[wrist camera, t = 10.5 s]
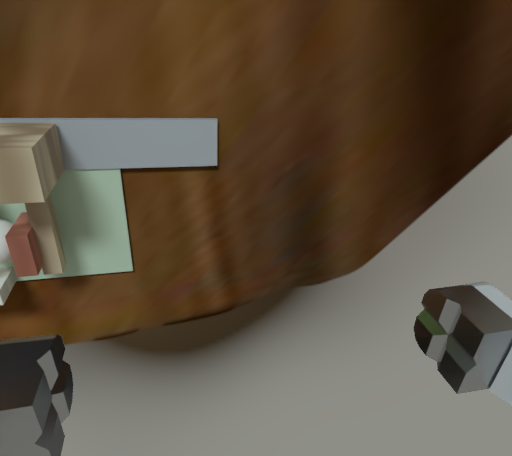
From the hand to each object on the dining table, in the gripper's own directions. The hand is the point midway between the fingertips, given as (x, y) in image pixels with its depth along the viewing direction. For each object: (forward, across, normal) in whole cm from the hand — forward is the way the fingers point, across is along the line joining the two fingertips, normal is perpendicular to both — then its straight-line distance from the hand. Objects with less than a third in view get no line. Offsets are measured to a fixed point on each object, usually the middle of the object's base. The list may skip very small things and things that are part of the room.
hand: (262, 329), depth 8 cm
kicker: (+28, +13, +9) cm, 32 cm away
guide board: (+29, +6, +4) cm, 30 cm away
